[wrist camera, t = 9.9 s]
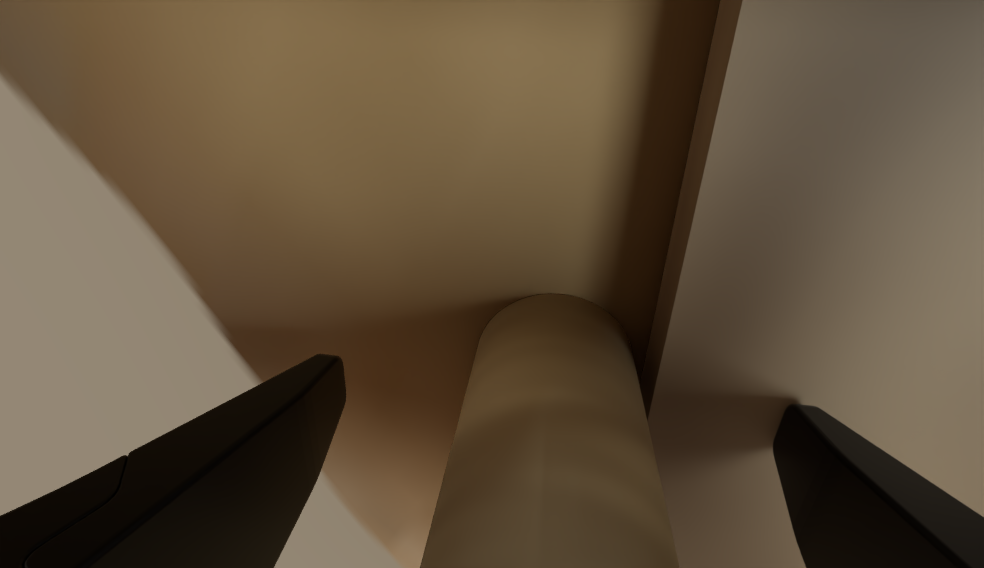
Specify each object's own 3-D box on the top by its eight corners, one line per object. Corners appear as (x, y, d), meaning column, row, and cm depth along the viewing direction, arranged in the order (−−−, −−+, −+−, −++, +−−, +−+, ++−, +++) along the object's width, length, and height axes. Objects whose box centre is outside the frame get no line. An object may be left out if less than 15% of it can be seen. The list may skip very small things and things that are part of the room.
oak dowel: (645, 301, 9) (762, 680, 4) (620, 430, 11) (680, 842, 5) (478, 287, 9) (373, 620, 4) (474, 414, 11) (391, 790, 5)
